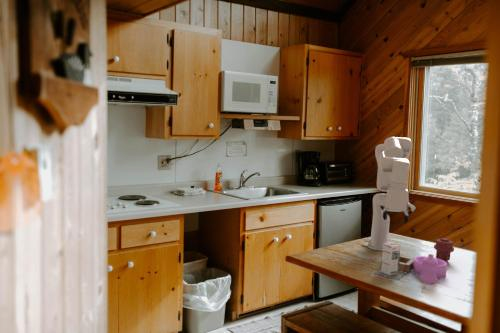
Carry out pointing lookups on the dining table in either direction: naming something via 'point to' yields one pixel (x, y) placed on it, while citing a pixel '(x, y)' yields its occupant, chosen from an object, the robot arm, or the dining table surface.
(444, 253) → the mechanical component
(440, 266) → the container set
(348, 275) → the dining table surface
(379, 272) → the rubber mat
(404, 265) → the socket collar
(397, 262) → the syrup box
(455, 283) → the dining table surface
